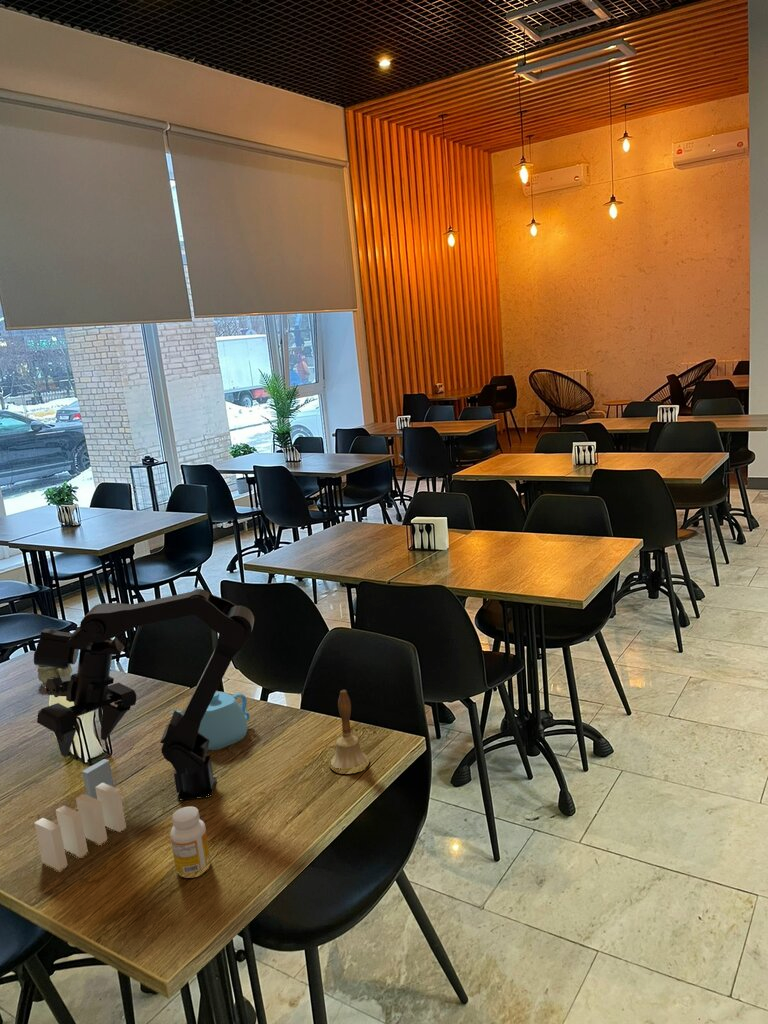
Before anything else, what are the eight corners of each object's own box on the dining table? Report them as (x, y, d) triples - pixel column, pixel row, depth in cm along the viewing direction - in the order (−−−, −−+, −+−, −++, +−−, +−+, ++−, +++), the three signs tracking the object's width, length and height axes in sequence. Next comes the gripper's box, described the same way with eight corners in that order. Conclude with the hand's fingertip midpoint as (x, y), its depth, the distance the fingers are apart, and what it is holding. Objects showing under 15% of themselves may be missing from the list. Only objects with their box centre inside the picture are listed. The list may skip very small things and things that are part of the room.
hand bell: (345, 750, 161) (338, 679, 158) (378, 759, 156) (371, 686, 153) (320, 769, 155) (312, 696, 151) (353, 779, 150) (346, 704, 147)
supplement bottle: (197, 853, 131) (189, 799, 129) (218, 865, 128) (210, 810, 126) (169, 872, 127) (160, 816, 125) (190, 884, 123) (181, 828, 121)
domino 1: (50, 858, 133) (42, 817, 132) (68, 867, 131) (59, 825, 129) (42, 863, 132) (34, 822, 130) (59, 873, 129) (51, 830, 128)
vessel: (80, 682, 209) (76, 661, 208) (46, 694, 203) (42, 671, 202) (66, 671, 218) (62, 650, 217) (33, 681, 213) (29, 660, 211)
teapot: (157, 701, 168) (232, 674, 178) (165, 745, 170) (237, 717, 181) (181, 719, 158) (258, 690, 169) (188, 766, 160) (264, 735, 171)
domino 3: (88, 808, 148) (81, 771, 146) (110, 795, 152) (104, 758, 150) (94, 811, 147) (87, 773, 145) (115, 797, 151) (109, 760, 149)
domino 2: (71, 845, 137) (63, 805, 135) (88, 854, 134) (80, 812, 132) (63, 850, 135) (55, 810, 134) (80, 859, 132) (72, 817, 131)
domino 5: (90, 833, 140) (83, 793, 138) (107, 841, 137) (100, 800, 135) (83, 838, 138) (75, 798, 137) (100, 846, 136) (92, 805, 134)
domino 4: (109, 821, 143) (102, 782, 141) (126, 828, 140) (119, 789, 138) (102, 826, 142) (95, 786, 140) (119, 833, 139) (112, 793, 137)
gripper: (103, 646, 156) (94, 717, 159) (21, 669, 139) (13, 747, 142) (142, 664, 151) (132, 737, 154) (62, 691, 134) (53, 771, 137)
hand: (84, 747), depth 147 cm, fingers open, 9 cm apart
